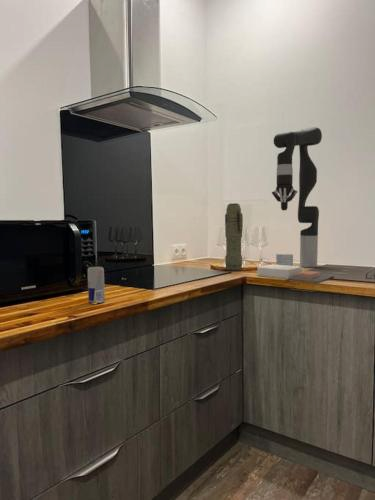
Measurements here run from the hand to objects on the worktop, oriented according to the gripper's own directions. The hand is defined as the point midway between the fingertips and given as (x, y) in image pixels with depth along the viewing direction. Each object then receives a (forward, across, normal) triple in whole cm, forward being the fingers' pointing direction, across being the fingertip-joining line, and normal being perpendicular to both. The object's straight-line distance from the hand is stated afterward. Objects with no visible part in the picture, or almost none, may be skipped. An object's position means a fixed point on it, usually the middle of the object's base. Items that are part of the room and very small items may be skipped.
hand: (284, 210), depth 186 cm
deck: (+31, -2, +8) cm, 32 cm away
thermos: (+31, +27, +4) cm, 41 cm away
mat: (+31, -18, +8) cm, 36 cm away
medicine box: (+31, +3, -7) cm, 32 cm away
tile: (+28, -16, +8) cm, 34 cm away
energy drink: (+31, +20, +97) cm, 104 cm away
